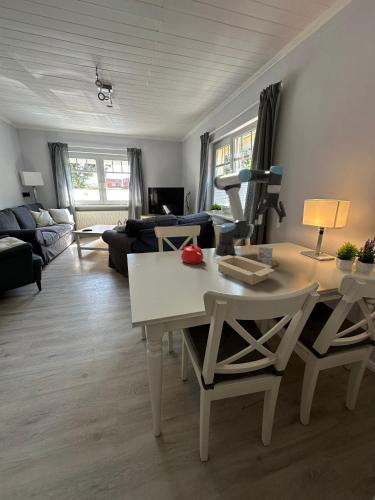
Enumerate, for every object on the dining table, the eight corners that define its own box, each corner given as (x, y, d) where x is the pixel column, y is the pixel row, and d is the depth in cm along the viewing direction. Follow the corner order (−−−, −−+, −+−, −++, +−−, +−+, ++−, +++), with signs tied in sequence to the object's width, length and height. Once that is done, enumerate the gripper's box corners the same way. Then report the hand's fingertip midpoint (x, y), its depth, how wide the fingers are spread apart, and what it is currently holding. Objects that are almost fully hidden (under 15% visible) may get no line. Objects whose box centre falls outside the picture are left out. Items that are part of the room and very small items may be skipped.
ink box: (256, 263, 143) (258, 246, 140) (258, 261, 147) (260, 244, 144) (270, 265, 139) (272, 248, 136) (271, 263, 143) (273, 246, 140)
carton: (208, 270, 132) (209, 260, 130) (232, 263, 145) (232, 253, 144) (254, 289, 108) (255, 278, 106) (277, 279, 121) (278, 268, 119)
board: (248, 263, 145) (248, 262, 144) (260, 260, 153) (260, 258, 153) (266, 270, 134) (267, 268, 134) (278, 265, 143) (278, 263, 142)
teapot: (211, 264, 142) (212, 247, 138) (191, 268, 134) (192, 250, 130) (191, 254, 162) (191, 239, 159) (173, 257, 154) (173, 241, 151)
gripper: (253, 191, 140) (249, 223, 147) (289, 193, 121) (283, 229, 128) (259, 191, 145) (256, 222, 151) (295, 193, 126) (289, 228, 132)
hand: (268, 225), depth 139 cm, fingers open, 13 cm apart
